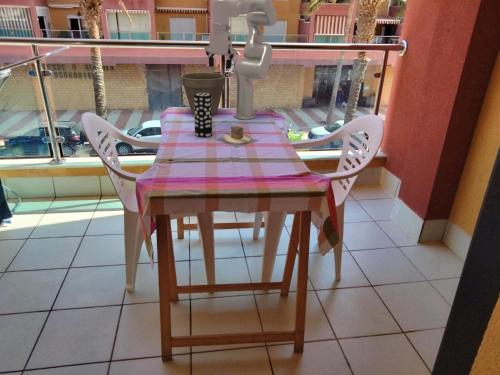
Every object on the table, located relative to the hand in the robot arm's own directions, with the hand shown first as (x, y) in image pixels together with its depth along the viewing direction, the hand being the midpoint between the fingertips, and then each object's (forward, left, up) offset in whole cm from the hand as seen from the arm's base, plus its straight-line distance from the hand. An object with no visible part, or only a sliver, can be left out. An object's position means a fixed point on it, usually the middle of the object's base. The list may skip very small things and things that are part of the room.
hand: (219, 67), depth 176 cm
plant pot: (-15, -31, -31) cm, 47 cm away
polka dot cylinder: (+13, +3, -31) cm, 33 cm away
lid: (+6, +19, -30) cm, 36 cm away
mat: (+6, +19, -31) cm, 36 cm away
